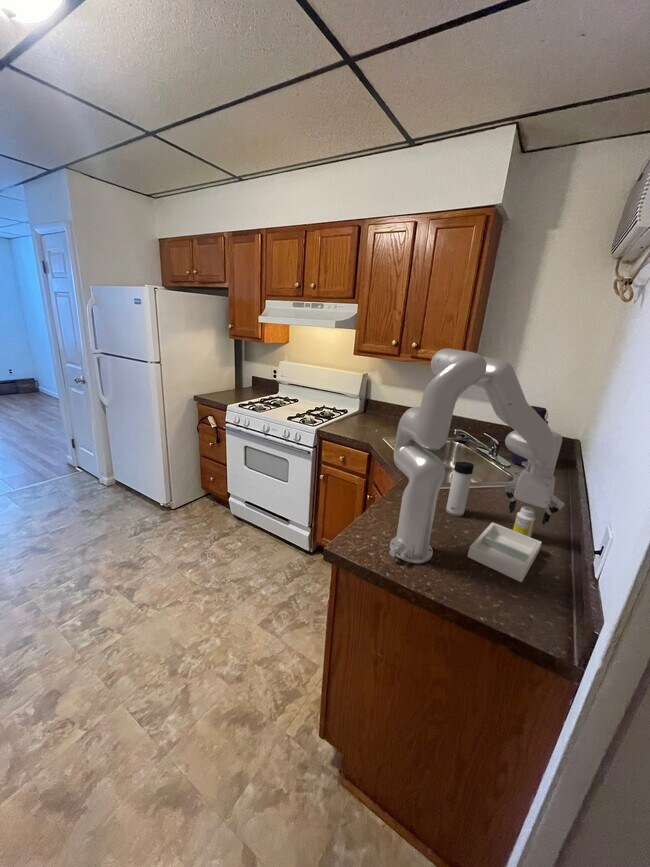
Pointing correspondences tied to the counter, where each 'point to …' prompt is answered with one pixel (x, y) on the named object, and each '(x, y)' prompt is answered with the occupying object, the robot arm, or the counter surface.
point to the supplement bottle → (525, 521)
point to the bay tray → (505, 551)
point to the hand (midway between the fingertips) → (527, 517)
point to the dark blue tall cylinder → (541, 413)
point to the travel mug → (459, 488)
